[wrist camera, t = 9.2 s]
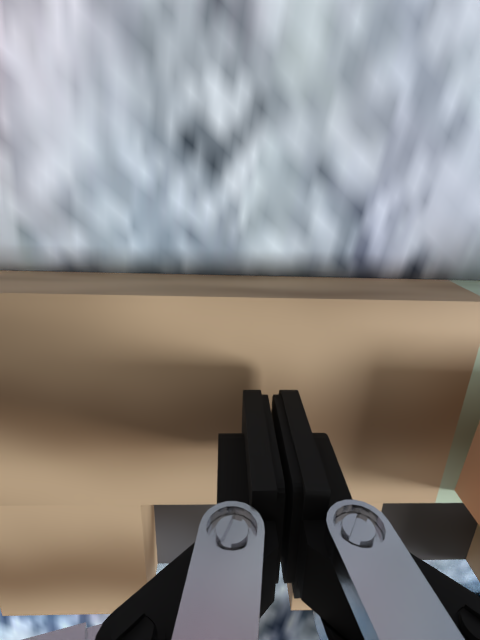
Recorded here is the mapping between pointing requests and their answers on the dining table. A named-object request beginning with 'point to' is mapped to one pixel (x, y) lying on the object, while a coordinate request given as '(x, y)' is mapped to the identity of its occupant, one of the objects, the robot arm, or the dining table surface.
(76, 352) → the board
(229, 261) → the dining table surface
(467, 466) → the orange block
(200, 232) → the dining table surface
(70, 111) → the dining table surface
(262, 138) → the dining table surface
